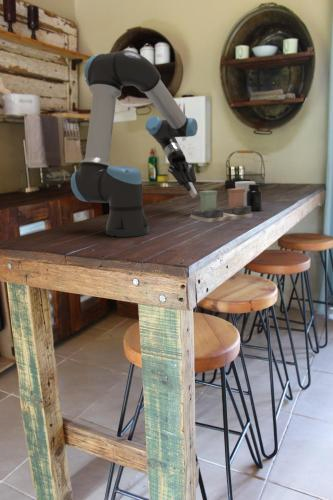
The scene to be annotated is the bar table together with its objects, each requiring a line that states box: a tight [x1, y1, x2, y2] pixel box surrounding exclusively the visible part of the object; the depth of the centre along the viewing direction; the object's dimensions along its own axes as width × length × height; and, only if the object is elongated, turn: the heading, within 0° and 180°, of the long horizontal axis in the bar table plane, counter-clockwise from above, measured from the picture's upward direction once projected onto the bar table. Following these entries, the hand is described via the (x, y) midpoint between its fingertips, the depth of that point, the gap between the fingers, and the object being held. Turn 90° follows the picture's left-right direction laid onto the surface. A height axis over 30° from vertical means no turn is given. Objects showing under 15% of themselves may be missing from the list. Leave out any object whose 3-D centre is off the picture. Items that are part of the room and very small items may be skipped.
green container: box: [199, 189, 218, 212], centre depth 176 cm, size 6×5×10 cm
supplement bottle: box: [247, 183, 263, 212], centre depth 198 cm, size 7×7×12 cm
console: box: [189, 206, 254, 223], centre depth 181 cm, size 22×14×4 cm, turn 118°
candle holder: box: [234, 180, 257, 206], centre depth 211 cm, size 10×10×12 cm
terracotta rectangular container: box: [227, 188, 245, 209], centre depth 182 cm, size 6×5×10 cm
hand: (194, 195), depth 184 cm, fingers closed
